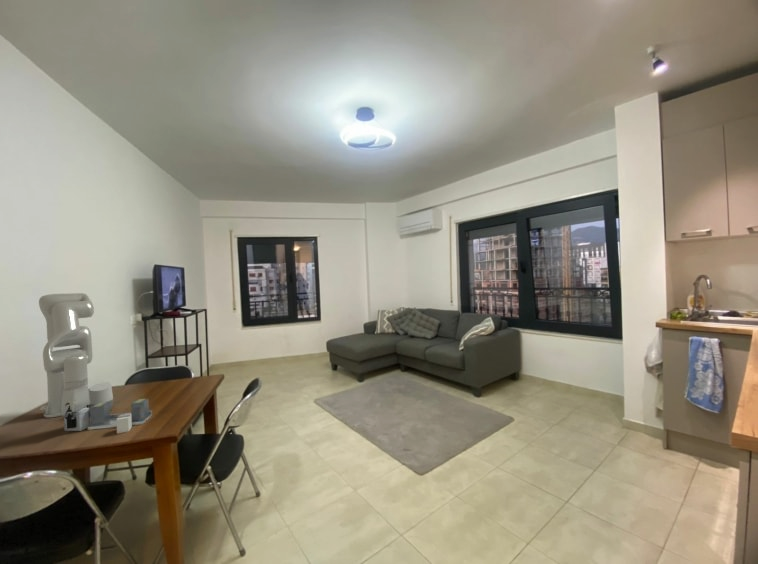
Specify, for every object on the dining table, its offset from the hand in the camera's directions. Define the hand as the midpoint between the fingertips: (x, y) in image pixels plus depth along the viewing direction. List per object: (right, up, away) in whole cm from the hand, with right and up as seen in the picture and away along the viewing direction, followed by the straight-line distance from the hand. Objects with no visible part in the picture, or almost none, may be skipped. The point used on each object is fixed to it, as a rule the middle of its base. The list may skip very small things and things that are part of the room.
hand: (77, 424), depth 138 cm
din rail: (+15, -2, +5) cm, 16 cm away
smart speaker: (-6, -2, +18) cm, 19 cm away
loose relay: (+23, -1, -2) cm, 23 cm away
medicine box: (0, -2, 0) cm, 2 cm away
